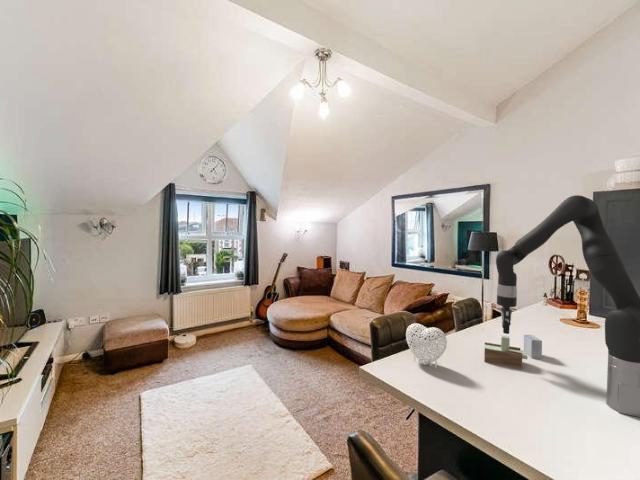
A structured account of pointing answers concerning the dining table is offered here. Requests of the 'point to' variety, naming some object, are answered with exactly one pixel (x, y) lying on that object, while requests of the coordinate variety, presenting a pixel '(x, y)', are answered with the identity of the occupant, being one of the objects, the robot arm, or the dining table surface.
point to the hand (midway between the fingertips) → (505, 330)
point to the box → (503, 356)
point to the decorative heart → (426, 343)
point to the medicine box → (533, 346)
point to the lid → (506, 347)
